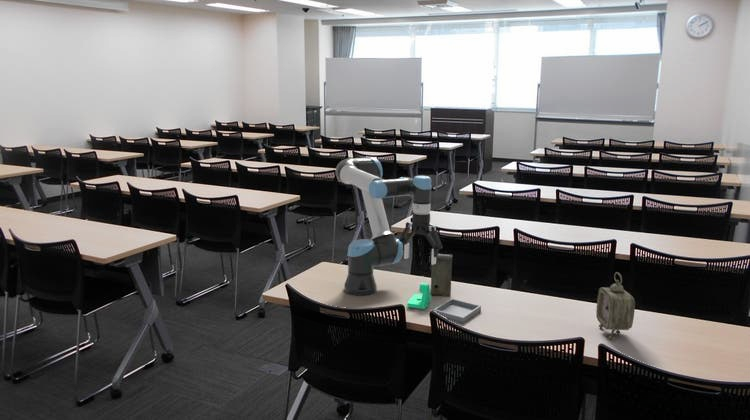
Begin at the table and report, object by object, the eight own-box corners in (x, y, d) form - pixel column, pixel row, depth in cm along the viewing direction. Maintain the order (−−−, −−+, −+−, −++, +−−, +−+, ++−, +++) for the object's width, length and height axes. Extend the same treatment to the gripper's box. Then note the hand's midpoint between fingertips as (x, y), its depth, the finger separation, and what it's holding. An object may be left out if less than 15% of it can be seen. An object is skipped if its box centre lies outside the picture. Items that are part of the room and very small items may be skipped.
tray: (432, 315, 235) (433, 309, 235) (451, 303, 248) (451, 298, 248) (463, 323, 227) (463, 317, 227) (480, 311, 240) (481, 305, 240)
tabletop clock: (594, 326, 227) (600, 266, 222) (617, 326, 227) (624, 267, 222) (607, 341, 213) (614, 278, 208) (632, 342, 213) (639, 279, 207)
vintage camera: (450, 287, 271) (451, 246, 267) (451, 297, 256) (452, 254, 252) (430, 286, 272) (430, 246, 268) (430, 296, 256) (430, 254, 253)
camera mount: (413, 299, 253) (414, 277, 251) (430, 301, 251) (431, 279, 249) (406, 308, 242) (407, 286, 240) (423, 311, 240) (424, 288, 238)
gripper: (391, 210, 242) (391, 257, 246) (443, 218, 228) (441, 268, 232) (401, 207, 248) (400, 254, 252) (451, 215, 234) (449, 264, 238)
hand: (419, 261), depth 242 cm, fingers open, 13 cm apart
